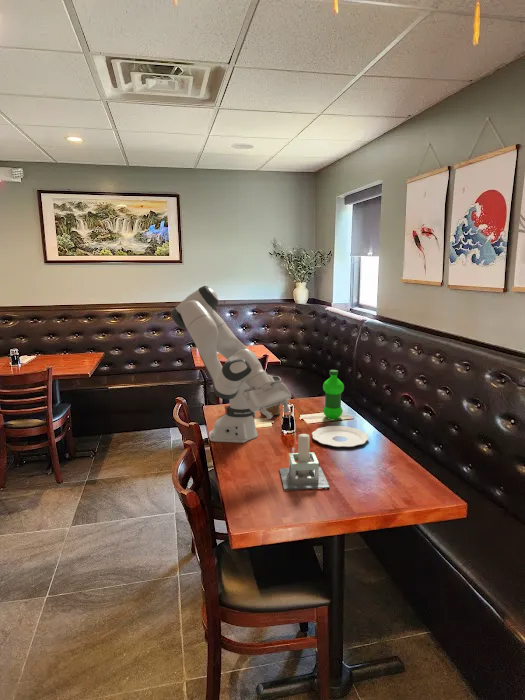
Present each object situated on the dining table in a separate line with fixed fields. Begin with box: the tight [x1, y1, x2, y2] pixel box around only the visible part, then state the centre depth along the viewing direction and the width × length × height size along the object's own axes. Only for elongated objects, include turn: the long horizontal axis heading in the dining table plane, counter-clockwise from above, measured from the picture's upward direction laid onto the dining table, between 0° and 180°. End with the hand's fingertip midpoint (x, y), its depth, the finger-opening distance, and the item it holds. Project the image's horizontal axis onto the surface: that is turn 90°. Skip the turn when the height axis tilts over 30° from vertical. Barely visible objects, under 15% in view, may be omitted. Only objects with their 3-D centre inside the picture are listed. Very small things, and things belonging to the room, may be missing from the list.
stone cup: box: [266, 404, 281, 416], centre depth 237 cm, size 15×12×15 cm
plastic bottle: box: [322, 369, 345, 420], centre depth 226 cm, size 10×10×25 cm
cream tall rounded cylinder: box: [297, 433, 311, 477], centre depth 161 cm, size 4×4×16 cm
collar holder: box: [279, 451, 330, 491], centre depth 162 cm, size 16×16×8 cm
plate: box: [311, 425, 370, 448], centre depth 201 cm, size 25×25×2 cm
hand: (279, 414), depth 167 cm, fingers open, 8 cm apart
